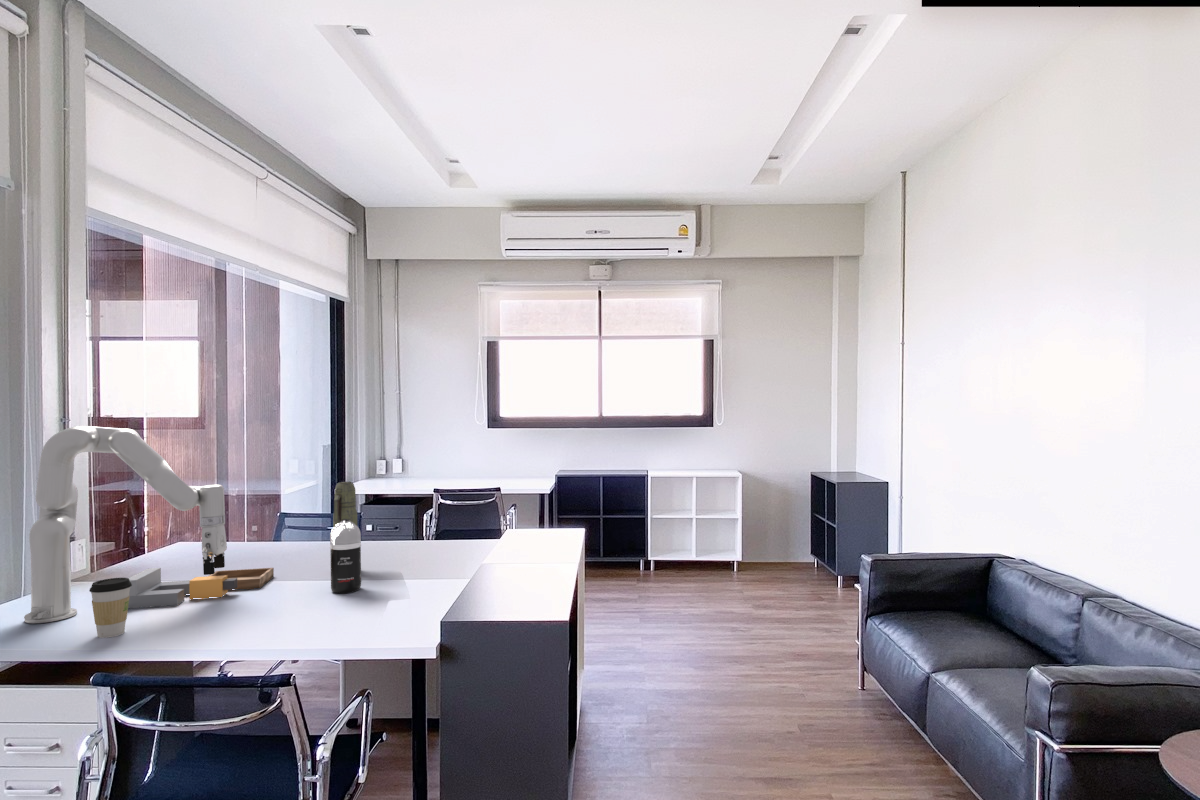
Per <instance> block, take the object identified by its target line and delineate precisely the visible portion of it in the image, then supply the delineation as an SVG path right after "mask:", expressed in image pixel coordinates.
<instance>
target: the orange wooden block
mask: <svg viewBox="0 0 1200 800" xmlns="http://www.w3.org/2000/svg"><path fill="white" fill-rule="evenodd" d="M237 587H238V586H237V578H231V579H227V575H223V576H209V575H205V576H195V577H194V578H192V579H190V581H189V592H190V596H189V600H190V599H193V598H209V597H222V596H223V595H225V594H226V593H227V592H228V590H231V591H233V590H232V589H235V588H237ZM225 596H226V595H225Z"/></svg>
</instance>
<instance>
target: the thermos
mask: <svg viewBox="0 0 1200 800" xmlns="http://www.w3.org/2000/svg"><path fill="white" fill-rule="evenodd" d="M356 497H357V496H356V487H355V484H354V482H352V481H340V482H338V483H336V485H335V488H334V499H333V516H332V517H333V518H332V520H333V521H332V523H333V526H332V527H333V528H334V527H335V526H336V525H337V524H338V523H339V522H340V521H342V520H343V519H349V520H350V521H351V522H353V523H354V524H355V525H357V526H358V511H357V498H356Z"/></svg>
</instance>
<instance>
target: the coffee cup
mask: <svg viewBox="0 0 1200 800" xmlns="http://www.w3.org/2000/svg"><path fill="white" fill-rule="evenodd" d="M129 578H130V577H114V578H106V579H100V580H96V581H94V582H92V584H91V586H90V588H89V592H90V593H91V606H92V611H93V618H94V619H93V620H94V624H95V628H96V635H97V638H100V639H105V638H106V639H108V638H113V637H118V636H121V635H123V634H125V630H126V622H127V618H128V611H129V609H128V604H129V597H130V595H129V592H130V587H131V586H132V583H131V582H130V580H129Z"/></svg>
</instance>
